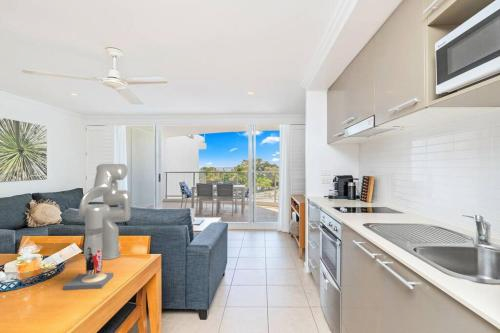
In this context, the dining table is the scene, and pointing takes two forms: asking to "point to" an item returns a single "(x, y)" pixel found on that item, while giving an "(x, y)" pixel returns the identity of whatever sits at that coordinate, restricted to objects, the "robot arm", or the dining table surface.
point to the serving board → (88, 281)
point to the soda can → (96, 264)
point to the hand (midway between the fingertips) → (94, 266)
